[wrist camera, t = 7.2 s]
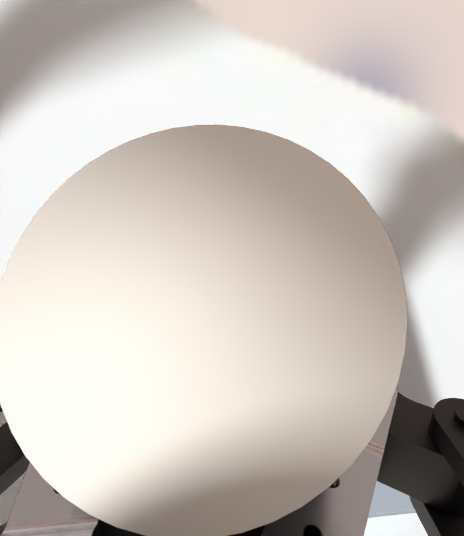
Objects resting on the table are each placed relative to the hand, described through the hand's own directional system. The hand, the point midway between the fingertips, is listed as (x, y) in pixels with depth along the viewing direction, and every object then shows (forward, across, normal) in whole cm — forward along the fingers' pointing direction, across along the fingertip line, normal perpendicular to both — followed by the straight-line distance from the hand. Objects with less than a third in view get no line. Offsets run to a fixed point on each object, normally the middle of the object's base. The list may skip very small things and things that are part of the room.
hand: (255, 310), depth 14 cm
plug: (+3, 0, +6) cm, 7 cm away
